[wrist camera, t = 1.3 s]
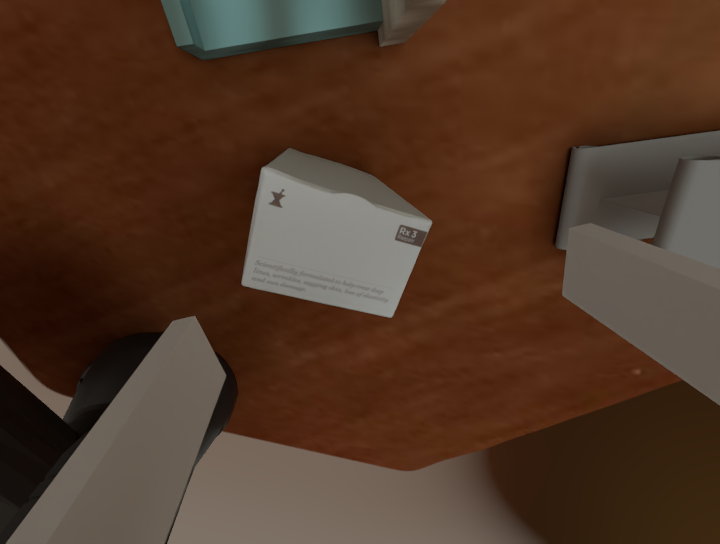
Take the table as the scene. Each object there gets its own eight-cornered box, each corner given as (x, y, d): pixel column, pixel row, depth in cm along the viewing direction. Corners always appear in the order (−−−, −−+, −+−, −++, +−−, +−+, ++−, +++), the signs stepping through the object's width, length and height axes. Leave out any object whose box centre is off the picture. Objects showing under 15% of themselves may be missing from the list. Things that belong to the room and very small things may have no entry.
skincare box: (273, 210, 28) (226, 290, 15) (289, 141, 26) (251, 161, 12) (361, 236, 30) (391, 328, 16) (383, 174, 28) (438, 222, 14)
